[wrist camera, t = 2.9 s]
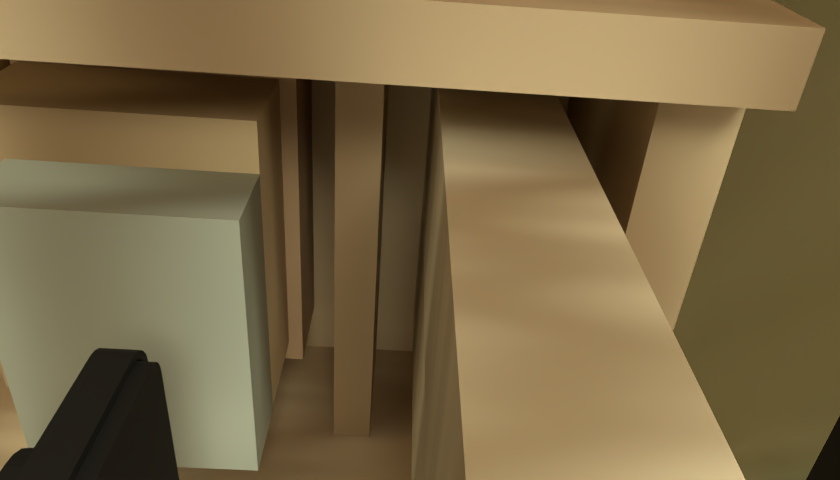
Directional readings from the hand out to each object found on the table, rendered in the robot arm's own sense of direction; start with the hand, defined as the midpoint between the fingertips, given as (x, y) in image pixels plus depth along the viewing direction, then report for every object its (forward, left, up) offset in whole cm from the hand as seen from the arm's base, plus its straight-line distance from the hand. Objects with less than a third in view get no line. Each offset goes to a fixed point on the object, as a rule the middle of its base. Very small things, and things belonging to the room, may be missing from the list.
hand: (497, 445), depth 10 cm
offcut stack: (+6, 0, -7) cm, 9 cm away
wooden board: (0, 0, -7) cm, 7 cm away
